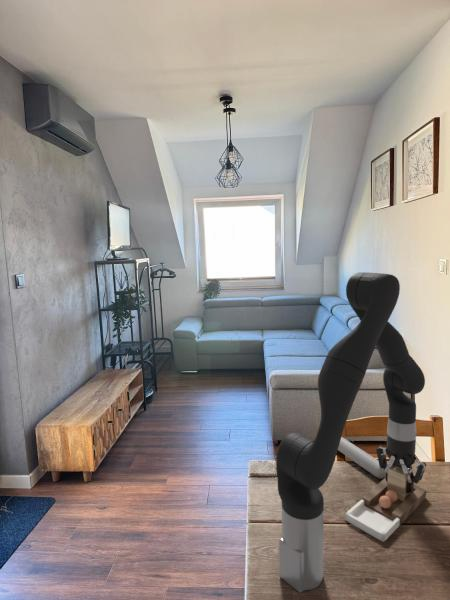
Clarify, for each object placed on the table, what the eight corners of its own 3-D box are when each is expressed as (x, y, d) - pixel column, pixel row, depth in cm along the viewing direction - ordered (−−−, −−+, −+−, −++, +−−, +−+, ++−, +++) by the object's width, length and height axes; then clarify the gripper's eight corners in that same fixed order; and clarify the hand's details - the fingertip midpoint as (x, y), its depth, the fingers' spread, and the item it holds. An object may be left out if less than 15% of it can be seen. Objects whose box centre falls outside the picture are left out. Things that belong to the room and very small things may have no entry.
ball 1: (387, 512, 110) (388, 502, 109) (376, 507, 112) (377, 496, 112) (393, 507, 112) (393, 496, 111) (382, 501, 114) (382, 491, 114)
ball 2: (394, 506, 112) (394, 496, 112) (383, 501, 115) (383, 491, 114) (399, 501, 114) (399, 491, 114) (388, 496, 117) (389, 486, 116)
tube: (393, 466, 126) (339, 431, 148) (382, 465, 124) (328, 430, 146) (389, 482, 126) (335, 445, 149) (377, 482, 124) (324, 444, 146)
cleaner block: (403, 501, 114) (404, 475, 113) (387, 493, 118) (387, 468, 116) (411, 494, 117) (412, 469, 116) (394, 486, 121) (395, 462, 119)
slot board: (399, 525, 106) (400, 516, 106) (362, 505, 115) (362, 497, 114) (425, 498, 117) (426, 490, 116) (389, 481, 125) (389, 474, 125)
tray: (383, 542, 101) (383, 535, 100) (345, 520, 109) (345, 513, 109) (399, 525, 106) (399, 518, 106) (361, 505, 114) (361, 499, 114)
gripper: (371, 429, 117) (369, 482, 120) (421, 447, 106) (418, 505, 109) (383, 420, 122) (382, 472, 125) (433, 437, 111) (430, 493, 114)
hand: (399, 487), depth 117 cm, fingers closed on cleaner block, 5 cm apart
